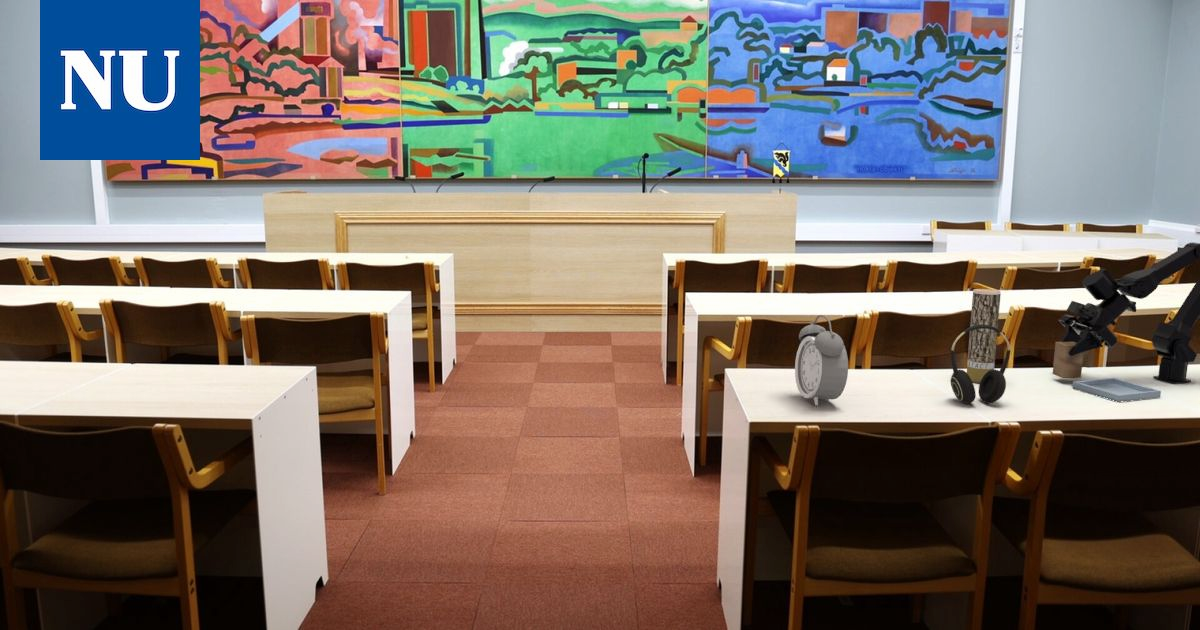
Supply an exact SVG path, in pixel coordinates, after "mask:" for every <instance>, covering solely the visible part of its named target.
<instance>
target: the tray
mask: <svg viewBox="0 0 1200 630" xmlns="http://www.w3.org/2000/svg"><path fill="white" fill-rule="evenodd" d="M1072 389H1073V390H1077V391H1079V390H1080V392H1083V393H1086V392H1087V393H1086V394H1089V393H1090V394H1089V395H1092V394H1094V395H1093V396H1096V395H1097V396H1096V397H1099V396H1101V397H1100V398H1102V397H1105V398H1108V399H1111V400H1110V401H1112V400H1114V401H1113V402H1115V401H1117V402H1116V403H1118V402H1119V403H1122V402H1121V401H1127V402H1132V401H1131V400H1136V401H1141V400H1140V399H1145V400H1152V399H1153V398H1154V399H1160V398H1161V395H1162V391H1161V390H1160V389H1154V388H1152V387H1149V386H1144V385H1141V384H1137V383H1134V382H1131V381H1127V380H1123V379H1119V378H1117V377H1109V378H1108V377H1106V378H1100V379H1097V378H1096V379H1088V380H1079V381H1078V380H1077V381H1072ZM1105 398H1104V399H1105ZM1108 399H1107V400H1108Z"/></svg>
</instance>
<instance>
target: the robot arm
mask: <svg viewBox="0 0 1200 630" xmlns="http://www.w3.org/2000/svg"><path fill="white" fill-rule="evenodd" d="M1198 260H1200V243H1199V242H1188V243H1186V244H1185V245H1184V246H1183V247H1181V248H1180V249H1179V250H1176V251H1175V252H1173V253H1172V254H1169V255H1168V256H1166V257H1164V258H1163V259H1162V260H1160V261H1158V262H1156V263H1155V264H1153V265H1151V266H1148V268H1145V269H1140V270H1136V271H1133V272H1131V273H1128V274H1125V275H1123V276H1122V277H1120V278H1117V279H1114V278H1113V276H1112V275H1111V274H1110V272H1109V271H1108V269H1106V268H1100V269H1099V270H1098V271H1094V272H1092V273H1090V274H1088V275H1086V276H1085V277H1084V278H1083V280H1082V282H1081V284H1082V286H1083V287H1084V288H1085V289H1086V290H1087V292H1088V293H1089V294H1090V295H1091V296H1092V297H1093V298H1094V300H1096V301H1101V302H1099V304H1097V305H1095V304H1094V303H1092V302H1087V303H1086V304H1083V303H1082V302H1077V301H1074V300H1071V302H1070V304H1068V307H1067V308H1066V312H1067V313H1069V314H1070V313H1071V314H1073V315H1069V314H1062V316H1061V317H1060V318H1059V319H1058V322H1060V323H1061V325H1062V326H1063V327H1064V333H1063V336H1062V338H1061V340H1060V342H1075V343H1076V344H1075V346H1074V347H1073V348H1072V349H1071V350H1070V351H1069V355H1070V356H1073V355H1076V354H1079V353H1082V352H1088V351H1091V350H1093V349H1098V348H1104V347H1107V348H1111V349H1113V348H1114V347H1115V346H1116V345H1117V344H1118V337H1117V336H1116V335H1115V334H1114V333H1113V332H1112V331H1111V329H1110V328H1109V327H1110V326H1112V327H1114V326H1116V325H1117V322H1116V320H1117V319H1118V318H1119V317H1120V316H1121V315H1122V314H1124V313H1125V311H1128V312H1132V313H1136V312H1137V307H1136V305H1137V302H1136V301H1134V300H1130V299H1129V298H1128V297H1130V298H1135V299H1141V300H1143V299H1145V298H1147V297H1149V295H1151V294H1152V293H1154V291H1156V290H1157V288H1158V287H1159V285H1160V284H1161V283H1162V282H1163V281H1165V280H1166V279H1168V278H1170V277H1171V276H1173V275H1174V274H1176V273H1179V272H1180V271H1181V270H1184V268H1185V269H1186V267H1189V266H1190V265H1191V264H1194V263H1195V262H1197V261H1198ZM1127 296H1128V297H1127ZM1074 315H1075V316H1074ZM1076 316H1077V317H1076ZM1199 317H1200V277H1199V278H1198V279H1197V281H1196V282H1195V284H1194V285H1193V287H1192V289H1191V290H1190V292H1189V293H1188V294H1187V296H1186V298H1185V300H1184V301H1183V302H1182V305H1181V306H1180V307H1179V309H1178V310H1177V312H1176V313H1175V314H1174V317H1173V318H1172V319H1171V320H1169V321H1168V322H1164V321H1160V322H1159V323H1158V325H1157V328H1156V330H1154V331H1153V332H1152V333H1151V335H1152V337H1151V344H1152V346H1153V349H1154V350H1155V354H1156V356H1160V357H1161V359H1160V363H1159V367H1158V374H1157V375H1154V376H1153V379H1156V380H1160V381H1163V382H1168V383H1172V384H1183V383H1191V382H1192V379H1188V378H1187V373H1188V366H1189V363H1194V362H1195V359H1196V357H1197V356H1198V355H1197V352H1195V351H1194V350H1193V349H1192V348H1191V346H1190V343H1191V341H1192V337H1193V336H1192V335H1193V333H1192V332H1193V331H1192V330H1193V327H1194V325H1195V323H1196V322H1197V320H1198V319H1199ZM1081 335H1082V336H1081ZM1103 344H1104V345H1103Z"/></svg>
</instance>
